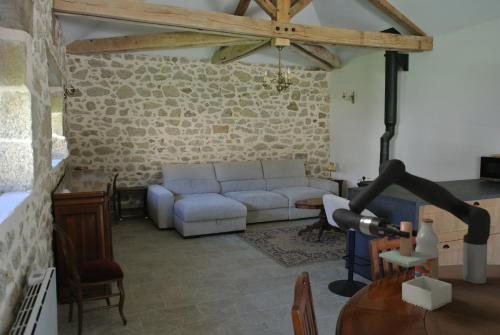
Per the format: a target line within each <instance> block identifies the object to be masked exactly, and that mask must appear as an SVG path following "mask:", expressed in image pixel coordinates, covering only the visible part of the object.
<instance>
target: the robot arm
mask: <svg viewBox="0 0 500 335" xmlns="http://www.w3.org/2000/svg"><path fill="white" fill-rule="evenodd" d="M378 173H379V174H378V175H377V177H375V179H373V180H372V181H371V182H370V183H369V184H368V185H366V186H365V187H363V188H362V189H361V190H359V191H358V192H357V193H356V194H355V195H354V196H353V197H352V198H351V199H350V200H349V202H348V203H347V204H348V208H345V207H339V208H336V209H335V210H333V211H332V214H331V218H332V221H333V222H334V223H335V225H336V226H337V227H338V228H339V229H340V230H341V231H342V232H343V231H344V232H347V231H350V230H351V229H352V230H354V231H355V232H359V233H363V234H365V235H368V236H374V237H376V238H381V239H382V238H383V239H384V238H386V237H387V238H389V237H390V238H393V239H394V238H400V237H403V238H407V239H408V238H410V233H409V232H405V231H400V229H401V223H400V224H398V225H397V224H395V223H390V222H389V220H387V219H386V218H383V217H378V216H371V215H364V214H362V213H363V212H364V211H365V210H366V209H367V208H368V207H369V206H370V205H371V204H372V203H373V202H374V201H375V200H376V199H377V198H378V197H379V196H380V195H381V194H382V193H383V192H385V190H386V189H388V188H389V187H390V186H391V185H393V184H395V185H397V186H398V187H400V188H403V189H404V190H406V191H407V192H409V193H411V194H413V195H414V196H416V197H418V198H419V199H421V200H422V201H425V202H426V203H427V204H430V205H431V206H434V207H436V208H439V209H440V210H442V211H446V212H447V213H449V214H451V215H452V216H454V217H455V218H457V220H458V219H459V220H460V221H461V222H462V223H464V224H465V225H467V233H465V234H464V235H463V241H462V242H463V244H462V246H463V247H462V280H463V281H465V282H466V283H470V284H475V285H476V284H477V285H478V284H479V285H481V284H486V283H487V279H488V278H487V277H488V240H489V238H490V233H491V219H492V218H491V214H490V212H489V210H487V209H485V208H483V207H481V206H478V205H477V206H476V205H475V204H474V205H473V204H471V203H469V202H465V201H464V200H461V199H459V198H458V197H456V196H455V195H454V194H452V192H450V191H449V190H448V189H447V188H445V187H444V186H442V185H441V184H439V183H437V182H434V181H433V180H430V179H428V178H424V177H422V176H418V175H415V174H412V173H410V172H408V171H407V168H406V164H405V163H404V161H402V160H400V159H398V158H392V159H388V160H385V161H383V162H382V163H380V165H379V167H378ZM418 233H419V231H417V230H414V229H412V238H413V237H415V238H416V237H417V234H418Z"/></svg>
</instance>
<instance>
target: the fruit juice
mask: <svg viewBox="0 0 500 335" xmlns="http://www.w3.org/2000/svg"><path fill="white" fill-rule="evenodd" d="M420 224H421V227H420V229H419V231H418V233H417V237H415V242H416V245H415V250H414V251H416V252H420V253H424V254H428V255H432V259H428V260H427V262H425V263H422V264H418V265H415V266H414V279H415V278H418V277H420V276H425V277H429V278H432V279H436V280H439V249H438V243H439V237H438V235H437V234H436V233H435V231H434V227H433V224H434V219H432V218H421V219H420Z"/></svg>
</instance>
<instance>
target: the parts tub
mask: <svg viewBox="0 0 500 335" xmlns="http://www.w3.org/2000/svg"><path fill="white" fill-rule="evenodd" d="M452 286H453V285H452V283H449V282H446V281H443V280H439V279H438V280H436V279H432V278H429V277H425V276H420V277H418V278H415V277H414V278H413V279H410V280H406V281H405V282H402V284H401V287H402V288H401V290H402V291H401V297H402V298H401V301H402V300H403V301H402V302H405V301H406V303H408V304H410V303H411V305H413V304H414V305H413V306H416V305H417V306H416V307H419V306H420V308H421V307H423V308H422V309H424V308H425V309H424V310H427V309H428V311H430V310H431V311H430V312H433V311H434V309H435V310H436V309H439V308H441V307H443V306H445V305H448V304H449V303H452V292H453V291H452V289H453V288H452ZM447 303H448V304H447ZM432 310H433V311H432Z"/></svg>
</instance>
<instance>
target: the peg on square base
mask: <svg viewBox="0 0 500 335" xmlns="http://www.w3.org/2000/svg"><path fill="white" fill-rule="evenodd" d="M400 224H401V229H400V231H405V232H409V233H410V238H408V239H407V238H403V237H399V238H400V240H399V248H397V249H394V250H389V251H384V252H381V253H379V254H378V257H380V258H383V259H384V262H388V263H391V264H395V265H398V266H400V267H404V268H411V267H415V265H418V264H422V263H425V262H427V260H428V259H432V255H428V254H424V253H420V252H416V251H415V250H413V249H412V244H413V243H412V242H413V236H412V230H413V222H410V221H401V222H400Z"/></svg>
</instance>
